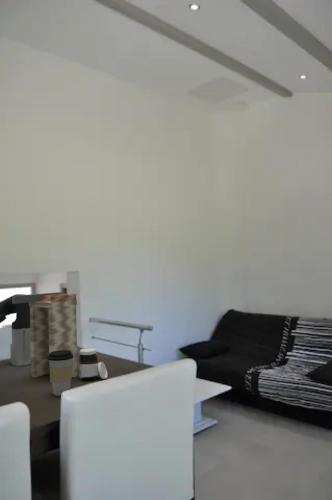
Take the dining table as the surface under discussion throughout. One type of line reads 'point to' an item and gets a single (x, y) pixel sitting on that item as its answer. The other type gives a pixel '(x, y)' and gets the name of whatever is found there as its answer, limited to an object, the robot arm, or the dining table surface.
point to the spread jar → (90, 365)
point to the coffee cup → (60, 370)
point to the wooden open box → (52, 331)
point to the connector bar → (30, 297)
